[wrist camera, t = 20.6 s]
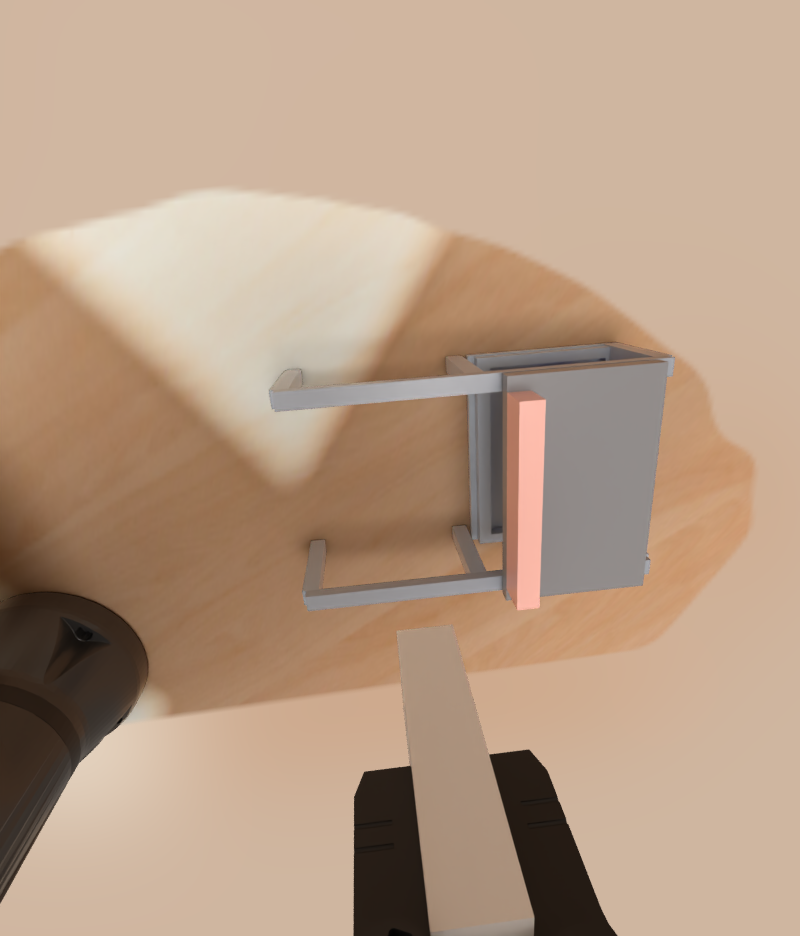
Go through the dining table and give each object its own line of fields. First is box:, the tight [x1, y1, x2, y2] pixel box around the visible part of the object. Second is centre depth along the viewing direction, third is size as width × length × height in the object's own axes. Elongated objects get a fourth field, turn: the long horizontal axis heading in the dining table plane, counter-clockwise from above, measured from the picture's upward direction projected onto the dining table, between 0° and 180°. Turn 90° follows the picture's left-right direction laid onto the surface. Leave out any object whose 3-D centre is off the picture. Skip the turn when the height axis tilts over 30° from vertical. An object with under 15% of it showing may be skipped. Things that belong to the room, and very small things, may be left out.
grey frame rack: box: [269, 342, 675, 611], centre depth 38 cm, size 26×16×8 cm, turn 94°
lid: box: [503, 360, 669, 610], centre depth 32 cm, size 10×16×4 cm, turn 4°
